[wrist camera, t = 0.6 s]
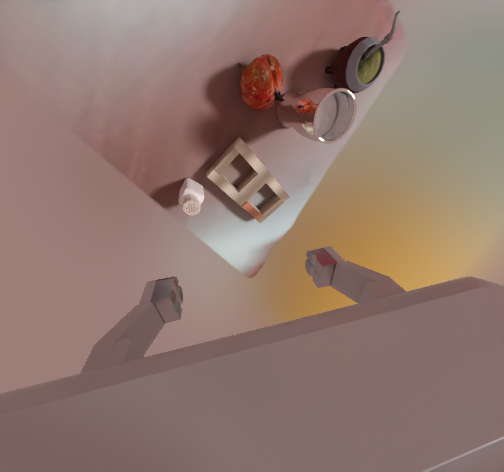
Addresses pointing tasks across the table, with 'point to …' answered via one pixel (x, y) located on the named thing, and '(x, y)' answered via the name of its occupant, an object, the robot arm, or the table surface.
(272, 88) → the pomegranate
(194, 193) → the pepper shaker
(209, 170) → the slot rack
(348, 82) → the mate gourd
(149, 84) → the table surface
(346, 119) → the beer glass
